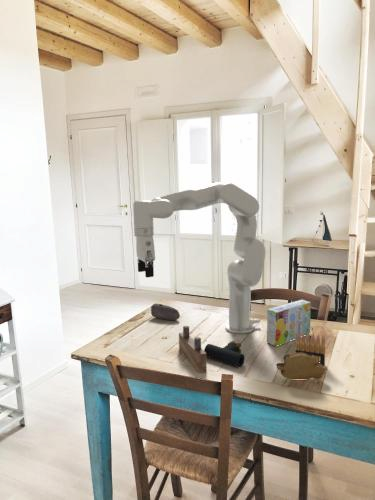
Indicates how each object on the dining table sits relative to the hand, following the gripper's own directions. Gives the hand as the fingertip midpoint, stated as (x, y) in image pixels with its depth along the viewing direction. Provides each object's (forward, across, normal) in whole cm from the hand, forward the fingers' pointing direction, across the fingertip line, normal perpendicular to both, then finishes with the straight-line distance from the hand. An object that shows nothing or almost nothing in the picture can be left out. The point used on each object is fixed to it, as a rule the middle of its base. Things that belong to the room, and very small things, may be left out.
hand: (145, 274), depth 162 cm
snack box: (+31, -20, -56) cm, 67 cm away
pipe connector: (+31, -24, -24) cm, 46 cm away
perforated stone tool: (+31, +25, -17) cm, 43 cm away
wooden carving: (+31, -49, -38) cm, 69 cm away
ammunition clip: (+31, -42, -48) cm, 71 cm away
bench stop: (+30, -20, -11) cm, 38 cm away
